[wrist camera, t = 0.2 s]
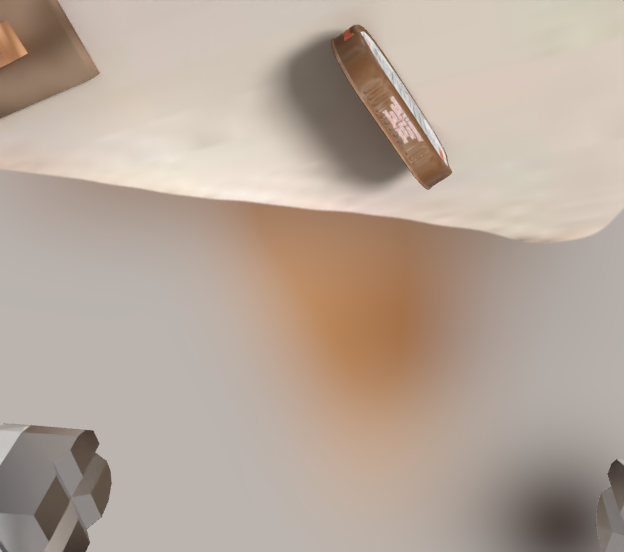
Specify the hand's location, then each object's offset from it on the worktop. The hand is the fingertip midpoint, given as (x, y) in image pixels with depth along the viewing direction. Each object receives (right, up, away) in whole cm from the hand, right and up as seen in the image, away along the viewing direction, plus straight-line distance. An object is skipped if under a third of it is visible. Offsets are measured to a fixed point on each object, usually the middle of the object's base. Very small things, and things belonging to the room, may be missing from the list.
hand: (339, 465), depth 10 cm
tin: (+7, +20, +44) cm, 49 cm away
